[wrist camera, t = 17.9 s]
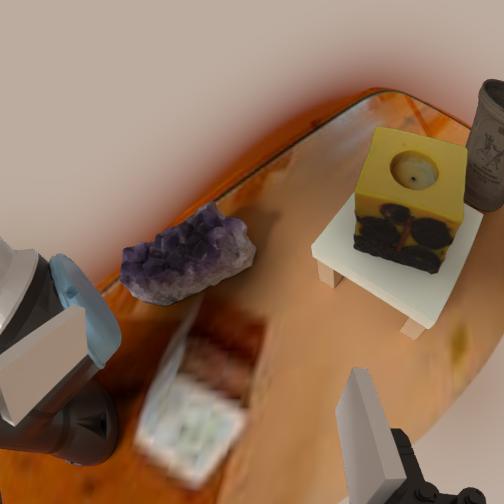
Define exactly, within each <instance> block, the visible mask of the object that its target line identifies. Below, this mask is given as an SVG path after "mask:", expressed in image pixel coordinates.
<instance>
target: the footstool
mask: <svg viewBox="0 0 504 504" xmlns="http://www.w3.org/2000/svg"><path fill="white" fill-rule="evenodd" d="M354 195H355V191H354V193H353V194H352V195H351V196H350V198H349V199H348V200H347V202H346V203H345V204H344V205H343V207H342V208H341V209H340V211H339V212H338V213H337V214H336V216H335V217H334V218H333V219H332V221H331V222H330V223H329V224H328V226H327V227H326V228H325V230H324V231H323V232H322V233H321V235H320V236H319V237H318V238H317V240H316V241H315V242H314V243H313V244H312V246H311V248H312V254H313V257H314V258H316V259H317V264H318V271H319V279H320V280H321V281H323V282H324V283H326V284H327V285H329V286H330V287H332V288H335V287H336V285H337V284H338V283H339V281H340V280H341V278H342V277H343V276H345V277H347V278H348V279H350V280H351V281H353V282H355V283H356V284H358V285H359V286H361V287H363V288H364V289H366V290H367V291H369V292H371V293H372V294H374V295H375V296H377V297H379V298H380V299H382V300H383V301H385V302H387V303H388V304H390V305H391V306H393V307H394V308H396V309H398V310H399V311H401V312H402V313H404V314H405V315H407V316H408V319H407V320H406V322H405V324H404V325H403V327H402V328H401V330H400V332H402V333H403V334H405V335H406V336H408V337H409V338H411V339H413V340H414V341H415V340H416V339H417V338H418V337H419V335H420V334H421V333H422V332H423V331H424V330H425V329H426V328H427V329H430V328H431V327H432V326H433V325H434V324H435V322H436V321H437V319H438V317H439V315H440V313H441V311H442V309H443V307H444V305H445V303H446V302H447V300H448V298H449V296H450V293H451V291H452V289H453V287H454V285H455V283H456V281H457V279H458V277H459V274H460V272H461V270H462V268H463V266H464V263H465V261H466V259H467V256H468V254H469V252H470V249H471V247H472V244H473V242H474V239H475V237H476V234H477V231H478V229H479V226H480V223H481V221H482V218H483V214H482V213H480V212H478V211H477V210H475V209H473V208H471V207H470V206H468V205H466V204H465V203H464V219H463V222H462V224H461V226H460V227H459V229H458V231H457V232H456V234H455V238H454V241H453V243H452V245H450V247H449V249H448V251H447V253H446V256H445V261H443V263H442V265H441V267H440V269H439V271H438V273H436V274H432V275H431V274H430V273H428V272H426V271H421V270H419V269H416V268H413V267H410V266H406V265H401V264H399V263H395V262H393V261H388V260H386V259H382V258H381V257H375V256H371V255H370V254H368V253H363V252H360V251H358V250H356V249H354V248H353V245H354V239H353V235H354V233H355V224H356V216H355V213H354V210H355V198H354Z"/></svg>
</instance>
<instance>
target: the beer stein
mask: <svg viewBox="0 0 504 504" xmlns="http://www.w3.org/2000/svg"><path fill="white" fill-rule="evenodd" d="M478 97H479V101H478V107H477V111H476V115H475V119H474V122H473V126H472V128H471V131H470V134H469V137H468V141H467V144H466V148H467V150H468V152H467V166H466V174H465V181H466V186H465V192H464V197H463V199H464V200H466V201H467V202H468V203H469V204H471V205H472V206H474V207H476V208H477V209H480V210H484V211H494V210H497V209H499V208H500V207H501V206H502V205H503V204H504V81H500V80H495V79H488V80H486V81H485V82H484V83H483V85H482V87H481V89H480V91H479V96H478Z"/></svg>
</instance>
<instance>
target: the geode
mask: <svg viewBox="0 0 504 504" xmlns="http://www.w3.org/2000/svg"><path fill="white" fill-rule="evenodd" d="M196 213H197V214H195V215H193V216H191V217H189V218H187V219H186V220H185V221H184V223H181V224H179V225H177V226H176V227H175V226H173V227H171V228H168V229H166V230H165V231H163V232H162V233H160V234H157V235H156V237H155V239H154V240H153V241H152V242H151V244H150V243H147V242H146V243H144V242H140V243H139V244H138V245H136V246H134V247H127V248H124V250H123V263H122V265H121V270H120V274H121V276H120V281H121V283H122V284H123V285H124V286H125V287H126V288H128V289H129V290H130V292H131V293H132V295H133V296H134V297H137V298H139V300H142V301H144V302H146V303H151V304H156V305H160V306H169V305H171V304H173V303H175V302H178V301H180V300H182V299H184V298H186V297H188V296H190V295H192V294H195V293H199V292H200V291H202V290H204V289H206V288H208V287H209V286H210V285H212V286H215V285H216V284H218V283H219V282H220V281H221V280H223V279H227V278H230V277H232V276H234V275H236V274H238V273H240V272H241V271H242V270H243V269H246V268H248V267H251V266H252V264H253V259H254V257H255V255H256V251H257V248H256V247H255V246H254V245H253V244H252V242H251V240H250V239H249V238H248V237H247V230H248V227H247V225H246V224H245V223H244V222H243V221H242V220H240V219H238V218H234V217H225V215H224V214H222V212H221V211H220V210H218V209H217V208H216V204H215V202H212V201H211V202H209V203H207V204H205V205H203V206H202V207H201V208H199V209H198V210H197V211H196Z"/></svg>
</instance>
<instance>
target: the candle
mask: <svg viewBox="0 0 504 504" xmlns="http://www.w3.org/2000/svg"><path fill="white" fill-rule="evenodd" d="M467 152H468V150H467V148H466V147H464V146H460V145H457V144H453V143H449V142H446V141H442V140H438V139H434V138H429V137H425V136H421V135H417V134H413V133H409V132H405V131H401V130H396V129H392V128H387V127H380V126H377V127H376V130H375V133H374V136H373V139H372V143H371V147H370V150H369V154H368V157H367V159H366V161H365V164H364V166H363V168H362V171H361V174H360V177H359V179H358V182H357V184H356V187H355V195H354V198H355V210H354V213H355V216H356V224H355V233H354V235H353V239H354V245H353V248H354V249H356V250H358V251H360V252H363V253H368V254H370V255H371V256H375V257H381V258H382V259H386V260H388V261H393V262H395V263H399V264H401V265H406V266H410V267H413V268H416V269H419V270H421V271H426V272H428V273H430V274H431V275H432V274H436V273H438V271H439V269H440V267H441V265H442V263H443V261H445V256H446V253H447V251H448V249H449V247H450V245H452V243H453V241H454V238H455V234H456V232H457V231H458V229H459V227H460V226H461V224H462V222H463V219H464V200H463V197H464V192H465V186H466V181H465V174H466V166H467Z"/></svg>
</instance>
